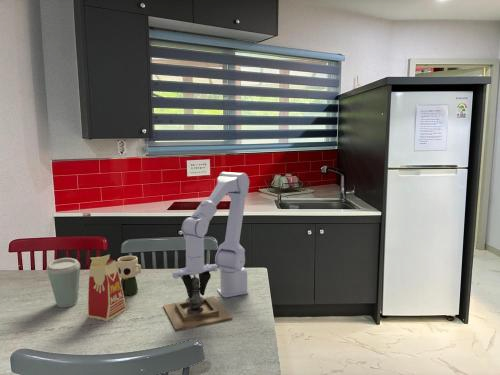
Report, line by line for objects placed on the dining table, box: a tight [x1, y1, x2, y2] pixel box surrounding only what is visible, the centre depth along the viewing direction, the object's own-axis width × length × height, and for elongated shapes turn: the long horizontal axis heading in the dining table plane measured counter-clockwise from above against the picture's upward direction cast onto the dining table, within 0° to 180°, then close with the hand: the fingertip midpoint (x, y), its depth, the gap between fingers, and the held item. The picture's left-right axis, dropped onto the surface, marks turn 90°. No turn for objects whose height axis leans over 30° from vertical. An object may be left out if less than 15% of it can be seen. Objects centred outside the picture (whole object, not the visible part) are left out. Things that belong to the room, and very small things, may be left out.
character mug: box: [115, 255, 142, 296], centre depth 146 cm, size 11×7×13 cm, turn 71°
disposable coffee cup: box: [46, 257, 81, 308], centre depth 136 cm, size 11×11×15 cm
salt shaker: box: [185, 274, 205, 314], centre depth 130 cm, size 6×6×12 cm
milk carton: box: [87, 254, 127, 322], centre depth 129 cm, size 9×9×20 cm
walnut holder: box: [162, 295, 233, 332], centre depth 130 cm, size 18×18×2 cm
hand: (196, 295), depth 129 cm, fingers closed on salt shaker, 3 cm apart
